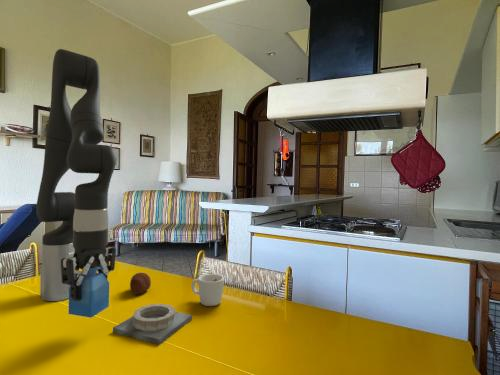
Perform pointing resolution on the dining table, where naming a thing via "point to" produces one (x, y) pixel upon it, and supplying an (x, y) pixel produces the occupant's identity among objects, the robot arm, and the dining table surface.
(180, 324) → the ring block
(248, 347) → the dining table surface
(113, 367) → the dining table surface
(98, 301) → the perfume bottle
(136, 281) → the potato
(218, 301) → the cup
